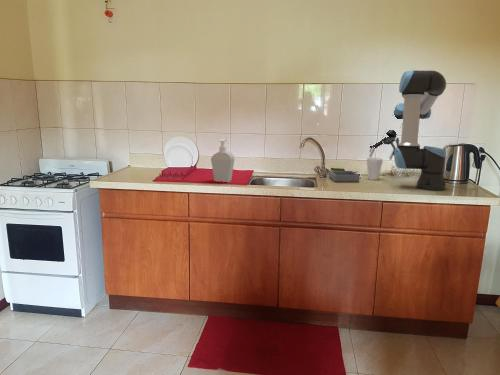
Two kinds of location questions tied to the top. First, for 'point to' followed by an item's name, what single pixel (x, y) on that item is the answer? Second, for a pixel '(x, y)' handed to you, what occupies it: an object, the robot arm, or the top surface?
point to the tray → (344, 176)
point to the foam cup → (374, 168)
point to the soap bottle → (222, 164)
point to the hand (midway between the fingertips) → (379, 157)
